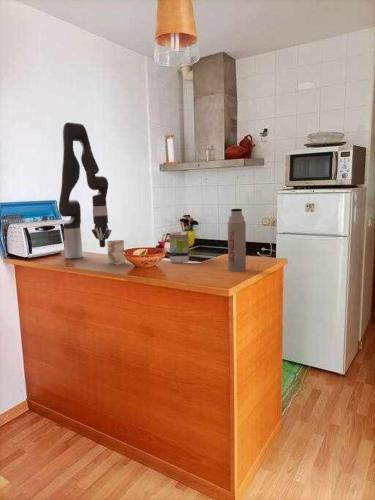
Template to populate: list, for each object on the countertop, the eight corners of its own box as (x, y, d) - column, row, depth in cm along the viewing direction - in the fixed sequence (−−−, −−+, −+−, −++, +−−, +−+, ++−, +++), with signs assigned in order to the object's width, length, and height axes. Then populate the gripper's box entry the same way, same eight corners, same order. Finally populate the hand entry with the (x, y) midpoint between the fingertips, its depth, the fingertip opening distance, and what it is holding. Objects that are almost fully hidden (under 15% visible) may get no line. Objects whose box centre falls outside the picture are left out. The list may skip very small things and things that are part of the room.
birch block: (108, 263, 195) (106, 241, 193) (116, 261, 200) (114, 239, 198) (117, 264, 192) (115, 241, 190) (124, 262, 197) (123, 240, 195)
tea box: (189, 262, 192) (188, 234, 189) (169, 263, 192) (168, 234, 190) (189, 257, 207) (188, 230, 204) (171, 257, 207) (170, 231, 204)
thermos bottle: (233, 272, 166) (233, 209, 161) (225, 269, 173) (224, 208, 168) (249, 270, 169) (248, 208, 164) (239, 267, 176) (239, 208, 171)
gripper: (86, 215, 197) (88, 247, 200) (104, 215, 190) (106, 248, 193) (96, 214, 203) (98, 245, 206) (114, 214, 196) (116, 246, 199)
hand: (102, 247), depth 199 cm, fingers closed
